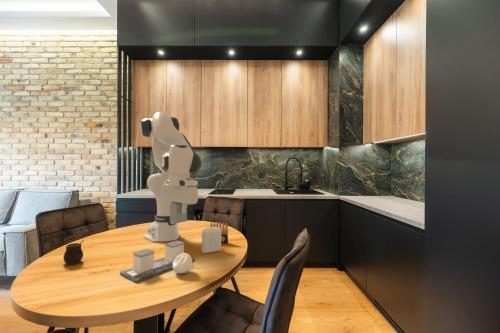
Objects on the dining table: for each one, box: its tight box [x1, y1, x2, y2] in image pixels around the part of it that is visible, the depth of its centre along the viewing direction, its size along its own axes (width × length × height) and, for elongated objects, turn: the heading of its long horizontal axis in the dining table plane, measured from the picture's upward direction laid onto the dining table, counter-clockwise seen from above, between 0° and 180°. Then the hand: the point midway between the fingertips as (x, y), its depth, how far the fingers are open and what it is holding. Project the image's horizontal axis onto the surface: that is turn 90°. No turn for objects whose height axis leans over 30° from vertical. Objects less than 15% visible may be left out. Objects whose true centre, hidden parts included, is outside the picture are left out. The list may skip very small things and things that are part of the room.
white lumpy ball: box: [172, 252, 193, 275], centre depth 103 cm, size 8×8×8 cm
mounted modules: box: [132, 240, 185, 273], centre depth 108 cm, size 5×21×7 cm, turn 144°
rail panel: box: [119, 256, 195, 284], centre depth 108 cm, size 12×28×2 cm, turn 144°
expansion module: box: [170, 202, 188, 224], centre depth 110 cm, size 4×6×8 cm, turn 145°
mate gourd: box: [63, 239, 85, 265], centre depth 111 cm, size 7×8×10 cm
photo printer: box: [201, 226, 222, 254], centre depth 129 cm, size 10×4×12 cm, turn 123°
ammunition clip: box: [210, 221, 229, 245], centre depth 144 cm, size 11×2×12 cm, turn 83°
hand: (178, 212), depth 110 cm, fingers closed on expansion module, 4 cm apart
